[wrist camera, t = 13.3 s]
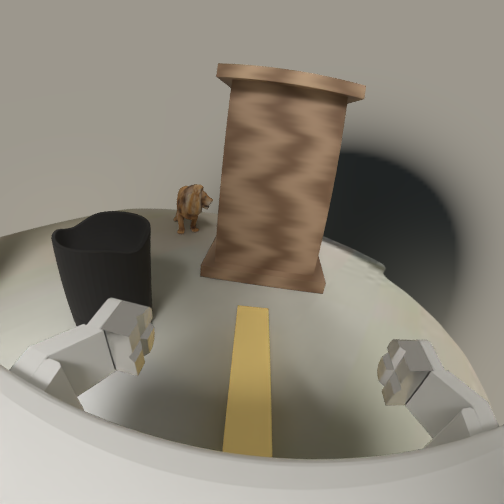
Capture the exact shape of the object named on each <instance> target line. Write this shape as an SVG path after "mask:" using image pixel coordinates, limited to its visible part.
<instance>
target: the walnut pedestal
mask: <svg viewBox="0 0 504 504" xmlns="http://www.w3.org/2000/svg"><path fill="white" fill-rule="evenodd" d="M216 76H217V77H218V78H219V79H220V80H221V81H223V82H224V83H225V84H227V85H228V86H229V87H230V88H231V93H230V101H229V110H228V118H227V128H226V136H225V145H224V155H223V166H222V176H221V186H220V198H219V210H218V222H217V235H216V237H215V239H214V241H213V243H212V245H211V247H210V249H209V251H208V252H207V254H206V256H205V258H204V260H203V262H202V264H201V274H200V276H203V277H209V278H215V279H222V280H228V281H235V282H241V283H248V284H255V285H262V286H269V287H276V288H283V289H290V290H298V291H306V292H313V293H321V294H323V291H324V287H325V284H326V283H325V279H324V275H323V271H322V267H321V264H320V260H319V256H318V254H319V250H320V246H321V242H322V237H323V233H324V228H325V223H326V219H327V215H328V210H329V205H330V200H331V195H332V190H333V185H334V180H335V174H336V169H337V163H338V158H339V152H340V146H341V141H342V134H343V128H344V121H345V115H346V107H347V104H348V103H352V102H355V101H359V100H363V99H364V97H365V88H366V86H364V85H360V84H357V83H353V82H349V81H345V80H341V79H336V78H332V77H327V76H322V75H317V74H312V73H306V72H301V71H294V70H288V69H280V68H272V67H263V66H253V65H240V64H220V63H219V64H218V68H217V75H216Z"/></svg>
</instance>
